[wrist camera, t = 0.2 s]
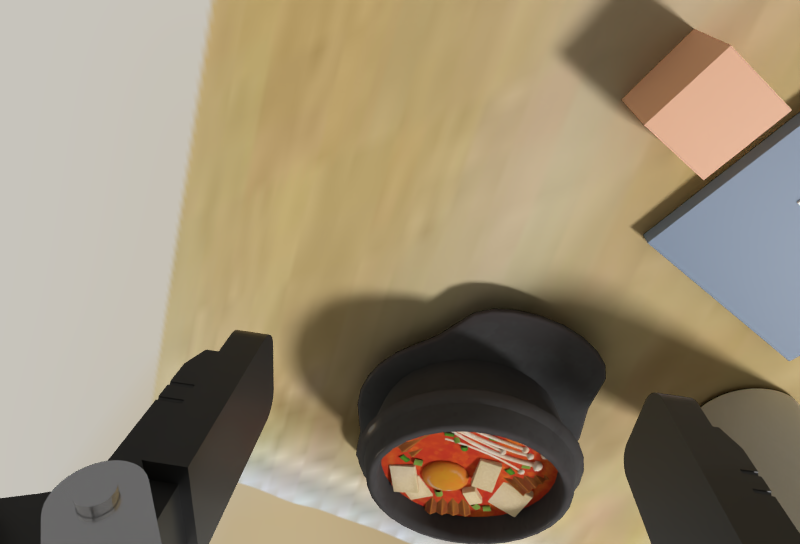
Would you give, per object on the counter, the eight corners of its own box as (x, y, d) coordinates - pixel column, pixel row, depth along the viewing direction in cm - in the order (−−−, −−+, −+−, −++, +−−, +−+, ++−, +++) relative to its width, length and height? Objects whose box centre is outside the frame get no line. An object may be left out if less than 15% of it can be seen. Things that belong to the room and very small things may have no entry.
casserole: (449, 250, 35) (444, 330, 28) (659, 360, 38) (701, 455, 31) (316, 436, 48) (291, 520, 41) (479, 504, 52) (481, 593, 45)
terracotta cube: (693, 28, 25) (730, 45, 22) (747, 85, 27) (791, 110, 23) (621, 99, 28) (644, 125, 24) (674, 148, 29) (703, 180, 25)
